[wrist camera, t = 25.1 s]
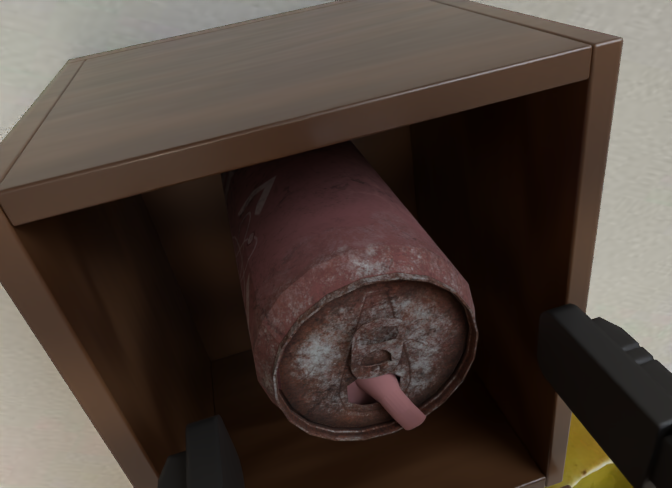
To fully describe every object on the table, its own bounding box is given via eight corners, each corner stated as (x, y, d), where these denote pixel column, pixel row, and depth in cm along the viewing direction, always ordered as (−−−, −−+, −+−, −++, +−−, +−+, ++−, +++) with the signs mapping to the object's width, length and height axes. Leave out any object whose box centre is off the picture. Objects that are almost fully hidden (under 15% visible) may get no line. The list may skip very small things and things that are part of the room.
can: (280, 244, 27) (359, 484, 15) (190, 158, 23) (204, 384, 12) (373, 170, 26) (531, 363, 14) (294, 69, 23) (418, 217, 11)
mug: (472, 509, 43) (567, 604, 34) (448, 403, 40) (544, 476, 31) (582, 443, 47) (694, 513, 38) (567, 342, 44) (683, 391, 35)
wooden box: (67, 59, 21) (-52, 204, 10) (408, -15, 23) (625, 36, 12) (199, 364, 30) (213, 611, 19) (431, 294, 32) (563, 482, 21)
